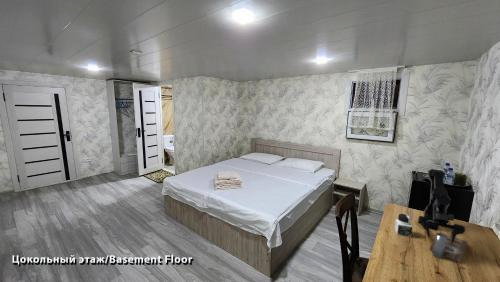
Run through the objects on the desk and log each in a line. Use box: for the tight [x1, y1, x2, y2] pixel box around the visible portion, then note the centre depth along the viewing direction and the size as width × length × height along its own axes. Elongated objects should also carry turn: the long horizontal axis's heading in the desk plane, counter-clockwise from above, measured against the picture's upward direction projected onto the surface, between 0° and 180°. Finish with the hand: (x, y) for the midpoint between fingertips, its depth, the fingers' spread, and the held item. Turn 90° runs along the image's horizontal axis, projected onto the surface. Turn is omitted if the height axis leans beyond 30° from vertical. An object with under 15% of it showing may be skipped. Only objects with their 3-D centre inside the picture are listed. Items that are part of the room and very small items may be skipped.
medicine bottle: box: [394, 213, 413, 238], centre depth 131 cm, size 7×7×12 cm
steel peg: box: [432, 232, 447, 260], centre depth 110 cm, size 4×4×12 cm
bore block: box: [429, 231, 469, 264], centre depth 118 cm, size 12×22×2 cm, turn 127°
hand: (440, 240), depth 111 cm, fingers open, 9 cm apart
